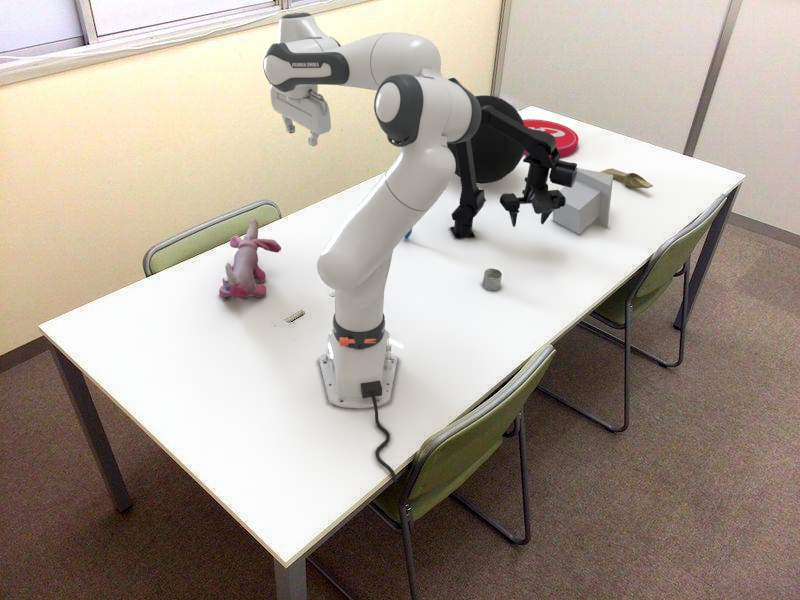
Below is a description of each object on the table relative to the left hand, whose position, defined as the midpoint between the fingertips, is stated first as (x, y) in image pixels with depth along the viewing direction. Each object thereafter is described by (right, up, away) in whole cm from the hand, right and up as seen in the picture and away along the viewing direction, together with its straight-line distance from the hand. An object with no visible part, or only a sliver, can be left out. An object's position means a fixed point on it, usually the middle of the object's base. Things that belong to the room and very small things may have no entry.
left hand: (301, 138), depth 165 cm
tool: (+108, +2, +77) cm, 133 cm away
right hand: (+63, -18, +32) cm, 73 cm away
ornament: (+27, -22, +39) cm, 52 cm away
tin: (+51, -37, +22) cm, 66 cm away
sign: (+82, +24, +102) cm, 133 cm away
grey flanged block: (+86, -14, +54) cm, 102 cm away
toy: (-19, -35, +18) cm, 44 cm away
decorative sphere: (+53, +3, +74) cm, 91 cm away
